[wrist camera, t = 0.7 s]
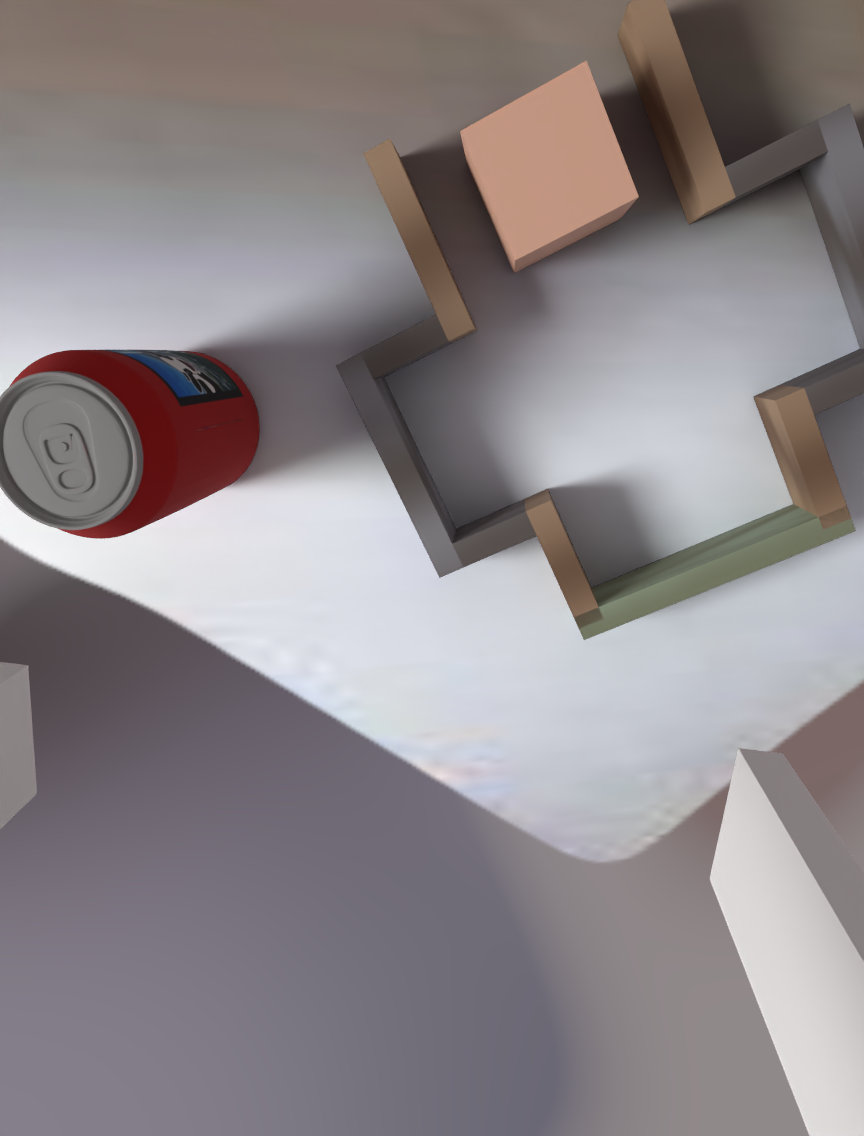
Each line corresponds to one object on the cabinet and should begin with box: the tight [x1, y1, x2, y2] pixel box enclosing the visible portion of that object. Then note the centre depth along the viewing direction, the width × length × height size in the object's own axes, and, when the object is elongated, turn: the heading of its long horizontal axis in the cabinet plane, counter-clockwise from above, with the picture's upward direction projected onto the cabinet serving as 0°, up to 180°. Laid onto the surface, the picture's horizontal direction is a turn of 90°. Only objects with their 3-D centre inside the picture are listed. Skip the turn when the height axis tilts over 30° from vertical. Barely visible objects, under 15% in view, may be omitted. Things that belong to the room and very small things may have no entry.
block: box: [460, 61, 639, 273], centre depth 31 cm, size 5×5×5 cm
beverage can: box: [0, 350, 259, 538], centre depth 32 cm, size 7×7×12 cm
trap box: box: [336, 0, 864, 640], centre depth 33 cm, size 23×22×3 cm
